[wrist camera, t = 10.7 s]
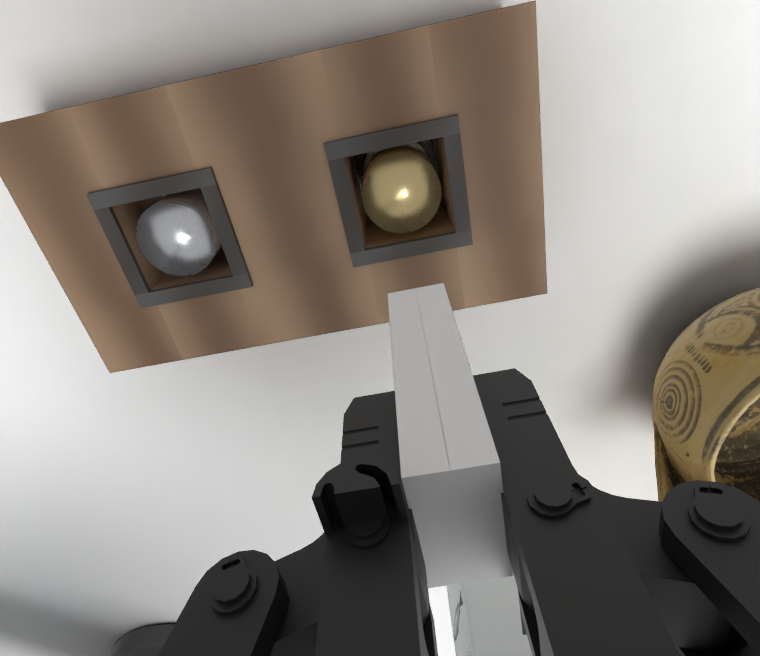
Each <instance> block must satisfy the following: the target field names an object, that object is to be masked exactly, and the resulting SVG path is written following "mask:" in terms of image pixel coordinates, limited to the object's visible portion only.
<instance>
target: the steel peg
mask: <svg viewBox="0 0 760 656" xmlns="http://www.w3.org/2000/svg"><path fill="white" fill-rule="evenodd" d="M136 239H137V243H138V246H139V248H140V250H141V252H142V254H143V255H144V257H145V258H146V259H147V260H148V261H149V262H150V263H151V264H152V265H153V266H155V267H156V268H157V269H159V270H161V271H163V272H165V273H168V274H171V275H175V276H189V275H193V274H196V273H199V272H200V271H202V270H203V269H204V268H206V267H207V265H208V264H209V263H210V262H211V260H212V259H213V258H214V256H215V255H216V253H217V252H218V251H219V249H220V248H221V247H222V245H221V242H220V239H219V236H218V234H217V231H216V228H215V226H214V223H213V220H212V218H211V215H210V212H209V209H208V207H207V204H206V201H205V199H204V196H203V193H202V191H201V188H197V189H192V190H188V191H183V192H178V193H173V194H169V195H166V196H164V197H163V198H162V199H160V200H159V201H158V202H156V203H155V204H154V205H152V206H151V207H149V208H148V209H147V210H146V211H145V212H144V213H143V214H142V215H141V216H140V218H139V220H138V223H137V227H136Z"/></svg>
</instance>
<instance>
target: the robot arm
mask: <svg viewBox="0 0 760 656" xmlns="http://www.w3.org/2000/svg"><path fill="white" fill-rule="evenodd" d="M388 306H389V319H390V333H391V346H392V360H393V373H394V386H395V391H391V392H385V393H380V394H374V395H368V396H362V397H356V398H354V399H353V401H352V402H351V404H350V406H349V407H348V409H347V410H346V412H345V414H344V422H343V437H342V451H341V464H339V465H338V466H336V467H334V468H333V469H331V470H330V471H328V472H327V473H326V474H325V475H324V476H323V477H322V478H321V480H320V481H319V482H318V483H317V484H316V487H315V490H314V493H313V496H312V500H313V502H314V505H315V508H316V510H317V513H318V516H319V518H320V521H321V524H322V526H323V529H324V533H323V535H321V536H320V537H319V538H318V539H317V540H315V541H314V542H313V543H311V544H310V545H308V546H306V547H304V548H303V549H301V550H299V551H296V552H294V553H292V554H290V555H288V556H285V557H283V558H281V559H279V560H277V561H273V560H272V559H271V558H270V557H269V556H268V555H267V554H266V553H262V552H259V551H255V550H250V551H241V552H237V553H234V554H232V555H230V556H228V557H225V558H223V559H221V560H220V561H219V562H218V563H216V564H215V565H214V566H213V567H211V568H210V569H209V570H208V571H207V572H206V573H205V575H204V576H203V577H202V579H201V580H200V581H199V583H198V584H197V585H196V587H195V589H194V591H193V592H192V594H191V596H190V598H189V600H188V602H187V603H186V605H185V607H184V609H183V611H182V613H181V614H180V616H179V618H178V620H177V622H176V623H175V624H163V625H153V626H148V627H143V628H140V629H137V630H134V631H132V632H130V633H128V634H126V635H124V636H123V637H122V638H120V639H119V640H118V641H117V642H116V644H115V645H114V647H113V649H112V652H111V654H110V656H438V652H437V644H436V635H435V626H434V619H433V615H432V611H431V607H430V603H429V595H428V588H431V587H438V586H445V585H452V584H459V583H466V582H474V581H481V580H488V579H495V578H502V577H509V576H513V573H514V577H515V581H516V584H517V588H518V595H519V605H520V614H521V623H522V633H523V635H527V637H528V641H529V645H530V649H531V652H532V656H760V502H759V501H758V500H756V499H755V498H753V497H751V496H750V495H748V494H746V493H745V492H743V491H742V490H740V489H737V488H734V487H731V486H728V485H725V484H722V483H719V482H711V481H701V480H696V481H691V482H685V483H680V484H678V485H677V486H675V487H674V488H672V489H671V490H669V491H667V493H666V495H665V497H664V500H663V502H658V501H649V500H640V499H631V498H624V497H619V496H614V495H611V494H608V493H606V492H603V491H600V490H598V489H597V488H595V487H593V486H592V485H591V484H590V483H589V481H588V480H586V479H585V478H583V477H581V476H580V475H578V473H577V472H576V470H575V469H574V467H573V466H572V464H571V462H570V460H569V458H568V456H567V453H566V451H565V449H564V447H563V445H562V443H561V441H560V439H559V437H558V435H557V433H556V431H555V429H554V427H553V425H552V423H551V421H550V418H549V416H548V414H546V410H545V408H544V406H543V404H542V402H541V400H540V399H539V396H538V394H537V392H536V390H535V388H534V385H533V383H532V381H531V380H529V379H528V378H527V377H525V376H524V375H523V374H521V373H520V372H519V371H517V370H516V369H509V370H503V371H497V372H492V373H486V374H480V375H474V376H473V375H472V372H471V368H470V365H469V362H468V359H467V356H466V353H465V349H464V346H463V343H462V340H461V337H460V334H459V330H458V327H457V324H456V321H455V318H454V315H453V311H452V308H451V305H450V302H449V299H448V295H447V292H446V289H445V286H444V283H441V284H435V285H430V286H425V287H419V288H414V289H409V290H403V291H398V292H393V293H388ZM512 570H513V573H512ZM427 584H428V585H427Z"/></svg>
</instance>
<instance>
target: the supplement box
mask: <svg viewBox="0 0 760 656" xmlns="http://www.w3.org/2000/svg"><path fill="white" fill-rule="evenodd" d="M512 573H513V570H512ZM447 592H448V600H449V607H450V615H451V623H452V630H453V637H454V645H455V652H456V656H532V652H531V649H530V645H529V641H528V637H527V635H523V633H522V623H521V614H520V605H519V595H518V588H517V584H516V581H515V577H514V573H513V576H509V577H502V578H495V579H488V580H481V581H474V582H466V583H459V584H452V585H447Z"/></svg>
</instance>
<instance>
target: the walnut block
mask: <svg viewBox="0 0 760 656" xmlns="http://www.w3.org/2000/svg"><path fill="white" fill-rule="evenodd" d="M430 139H433V146H434V154H435V161H436V168H437V175H438V177H439V180H440V184H441V201H440V205H439V208H438V210H437V212H436V214H435V215H434V217H433V218H432V219H431V220H430V221H429V222H428V223H427V224H426V225H424V226H423V227H422V228H420V229H418V230H415V231H413V232H409V233H393V232H389V231H386V230H384V229H382V228H380V227H379V226H377V225H376V224H375V223H374V222H373V221H372V220H371V219H370V218H369V216H368V215H366V214H365V209H364V205H363V201H362V195H361V191H360V186H359V181H358V177H357V172H356V168H355V163H354V158H353V156H354V155H359V154H363V153H368V152H373V151H378V150H382V149H387V148H392V147H397V146H401V145H406V144H411V143H416V142H420V141H425V140H430ZM0 177H1V178H2V180H3V182H4V184H5V186H6V187H7V189H8V191H9V193H10V194H11V196H12V198H13V200H14V202H15V203H16V205H17V207H18V209H19V211H20V212H21V214H22V216H23V218H24V220H25V221H26V223H27V225H28V227H29V229H30V230H31V232H32V234H33V236H34V238H35V239H36V241H37V243H38V245H39V247H40V248H41V250H42V252H43V254H44V255H45V257H46V259H47V261H48V263H49V264H50V266H51V268H52V270H53V272H54V273H55V275H56V277H57V279H58V281H59V282H60V284H61V286H62V288H63V290H64V291H65V293H66V295H67V297H68V299H69V300H70V302H71V304H72V306H73V308H74V309H75V311H76V313H77V315H78V317H79V318H80V320H81V322H82V324H83V325H84V327H85V329H86V331H87V333H88V334H89V336H90V338H91V340H92V342H93V343H94V345H95V347H96V349H97V351H98V352H99V354H100V356H101V358H102V360H103V361H104V363H105V365H106V367H107V369H108V370H109V372H110V373H113V372H118V371H124V370H129V369H135V368H140V367H146V366H151V365H157V364H162V363H168V362H173V361H179V360H184V359H190V358H195V357H201V356H206V355H212V354H217V353H222V352H228V351H233V350H239V349H244V348H250V347H255V346H261V345H266V344H272V343H277V342H283V341H288V340H294V339H299V338H305V337H310V336H316V335H321V334H327V333H332V332H338V331H343V330H349V329H354V328H360V327H365V326H371V325H376V324H382V323H387V322H390V319H389V306H388V293H393V292H398V291H403V290H409V289H414V288H419V287H425V286H430V285H435V284H441V283H444V286H445V289H446V292H447V295H448V299H449V302H450V305H451V308H452V311H453V310H459V309H464V308H470V307H475V306H481V305H486V304H491V303H497V302H502V301H508V300H513V299H519V298H524V297H530V296H535V295H541V294H546V293H547V277H546V252H545V227H544V201H543V176H542V151H541V126H540V101H539V76H538V51H537V26H536V1H531V2H527V3H522V4H518V5H514V6H509V7H505V8H500V9H496V10H492V11H487V12H483V13H479V14H474V15H470V16H465V17H461V18H457V19H452V20H448V21H444V22H439V23H435V24H431V25H426V26H422V27H417V28H413V29H409V30H404V31H400V32H396V33H391V34H387V35H383V36H378V37H374V38H369V39H365V40H361V41H356V42H352V43H348V44H343V45H339V46H335V47H330V48H326V49H321V50H317V51H313V52H308V53H304V54H300V55H295V56H291V57H286V58H282V59H278V60H273V61H269V62H265V63H260V64H256V65H252V66H247V67H243V68H238V69H234V70H230V71H225V72H221V73H217V74H212V75H208V76H204V77H199V78H195V79H190V80H186V81H182V82H177V83H173V84H169V85H164V86H160V87H156V88H151V89H147V90H142V91H138V92H134V93H129V94H125V95H121V96H116V97H112V98H108V99H103V100H99V101H94V102H90V103H86V104H81V105H77V106H73V107H68V108H64V109H59V110H55V111H51V112H46V113H42V114H38V115H33V116H29V117H25V118H20V119H16V120H11V121H7V122H3V123H0ZM197 188H201V191H202V193H203V196H204V199H205V201H206V204H207V207H208V209H209V212H210V215H211V218H212V220H213V223H214V226H215V228H216V231H217V234H218V236H219V239H220V242H221V245H222V247H221V248H220V249H219V251H218V252H217V253H216V255H215V256H214V258H213V259H212V260H211V262H210V263H209V264H208V265H207V267H206V268H204V269H203V270H202V271H200V272H199V273H196V274H193V275H189V276H175V275H171V274H168V273H165V272H163V271H161V270H159V269H157V268H156V267H155V266H153V265H152V264H151V263H150V262H149V261H148V260H147V259H146V258H145V257H144V255H143V254H142V252H141V250H140V248H139V246H138V243H137V239H136V227H137V223H138V220H139V218H140V216H141V215H142V214H143V213H144V212H145V211H146V210H147V209H148V208H149V207H151V206H152V205H154V204H155V203H156V202H158V201H159V200H160V199H162V198H163V196H164V195H169V194H173V193H178V192H183V191H188V190H192V189H197Z"/></svg>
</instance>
